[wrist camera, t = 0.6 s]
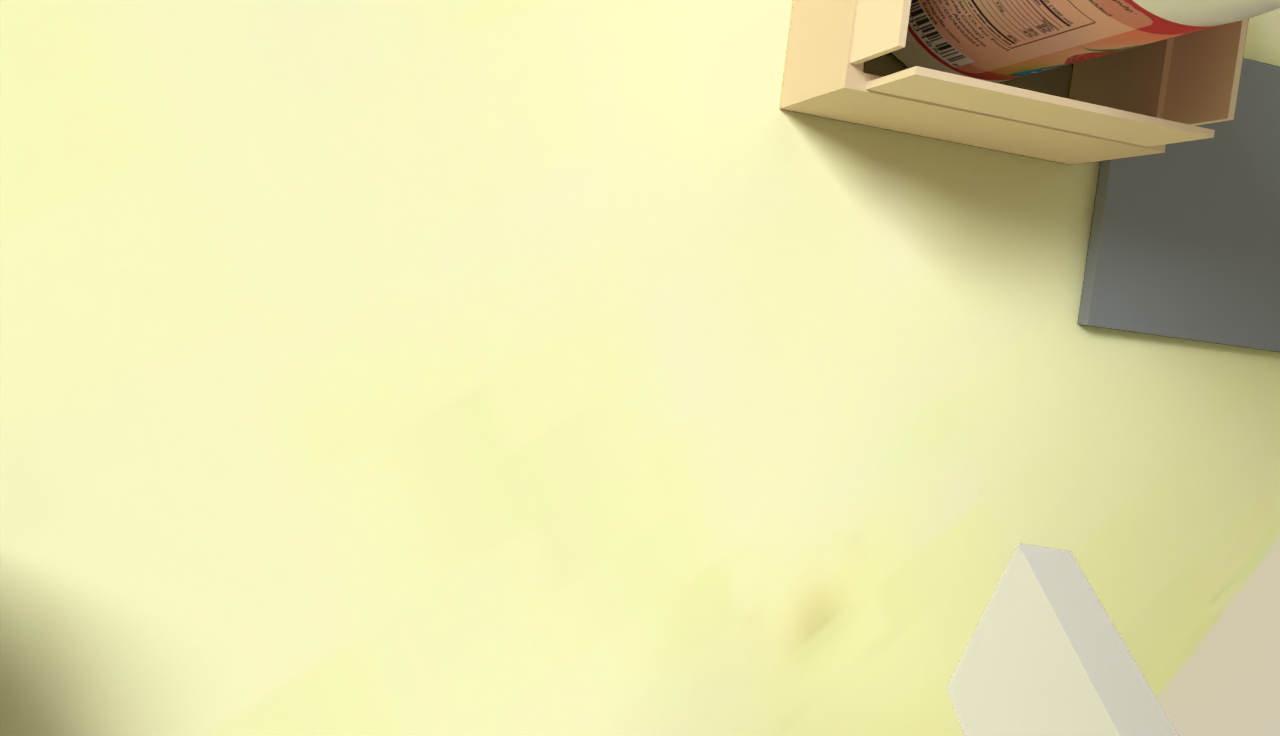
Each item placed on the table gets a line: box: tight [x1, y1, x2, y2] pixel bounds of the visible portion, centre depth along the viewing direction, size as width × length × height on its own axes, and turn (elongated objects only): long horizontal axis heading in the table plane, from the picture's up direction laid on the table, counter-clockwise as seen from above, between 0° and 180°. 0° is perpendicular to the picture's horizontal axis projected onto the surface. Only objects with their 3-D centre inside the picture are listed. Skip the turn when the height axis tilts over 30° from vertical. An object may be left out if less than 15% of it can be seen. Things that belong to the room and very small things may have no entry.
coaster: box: [1078, 58, 1280, 352], centre depth 47 cm, size 12×12×1 cm
